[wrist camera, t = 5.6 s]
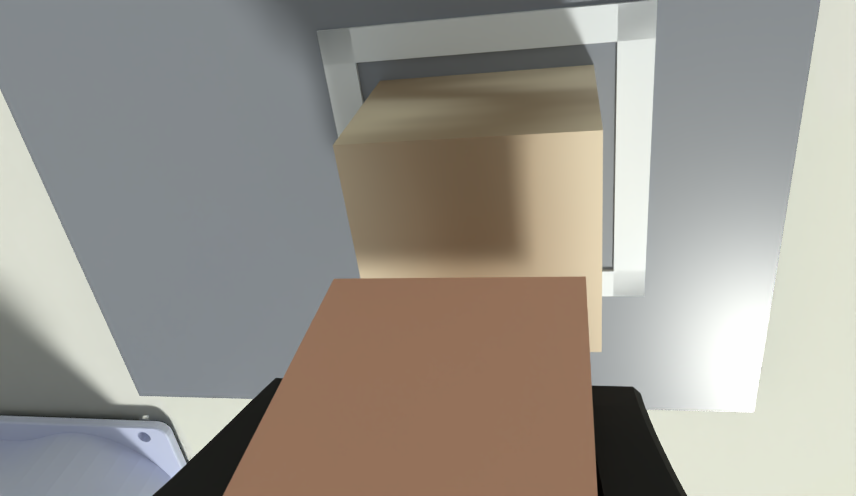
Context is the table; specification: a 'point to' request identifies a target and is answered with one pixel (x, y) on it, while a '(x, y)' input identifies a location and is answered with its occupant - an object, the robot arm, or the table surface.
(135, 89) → the grey flat slab
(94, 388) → the table surface
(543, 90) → the maple block
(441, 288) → the terracotta block
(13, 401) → the table surface
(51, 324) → the table surface
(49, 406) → the table surface
